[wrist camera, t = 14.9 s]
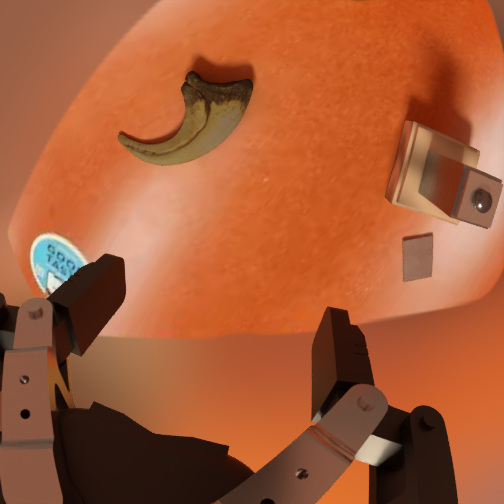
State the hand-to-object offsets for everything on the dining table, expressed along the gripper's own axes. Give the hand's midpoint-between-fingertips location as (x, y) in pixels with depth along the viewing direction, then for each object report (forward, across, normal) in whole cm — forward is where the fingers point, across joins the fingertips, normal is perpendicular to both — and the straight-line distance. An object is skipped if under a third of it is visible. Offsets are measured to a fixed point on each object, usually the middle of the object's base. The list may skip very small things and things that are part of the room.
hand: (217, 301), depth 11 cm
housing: (+26, -21, -5) cm, 34 cm away
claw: (+31, +13, -4) cm, 34 cm away
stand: (+30, -21, -5) cm, 37 cm away
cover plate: (+31, -24, +8) cm, 40 cm away
